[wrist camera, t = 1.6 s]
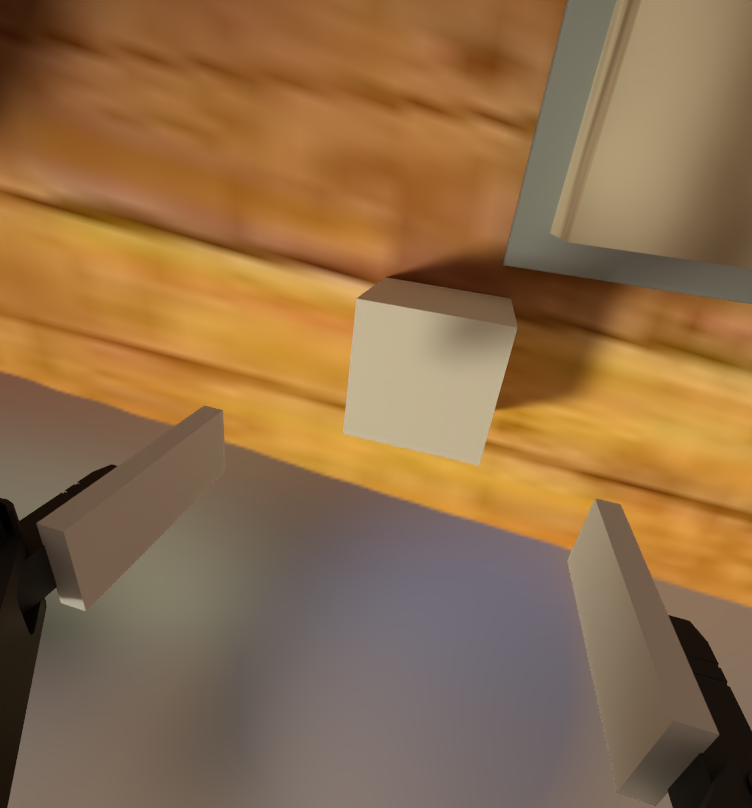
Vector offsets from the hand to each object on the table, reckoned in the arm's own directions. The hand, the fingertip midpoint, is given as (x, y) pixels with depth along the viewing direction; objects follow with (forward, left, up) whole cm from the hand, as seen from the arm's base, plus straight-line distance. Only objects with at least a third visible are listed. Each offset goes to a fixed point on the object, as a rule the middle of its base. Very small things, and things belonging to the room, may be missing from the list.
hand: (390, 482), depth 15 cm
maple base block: (+10, +13, -14) cm, 22 cm away
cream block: (0, 0, -16) cm, 16 cm away
